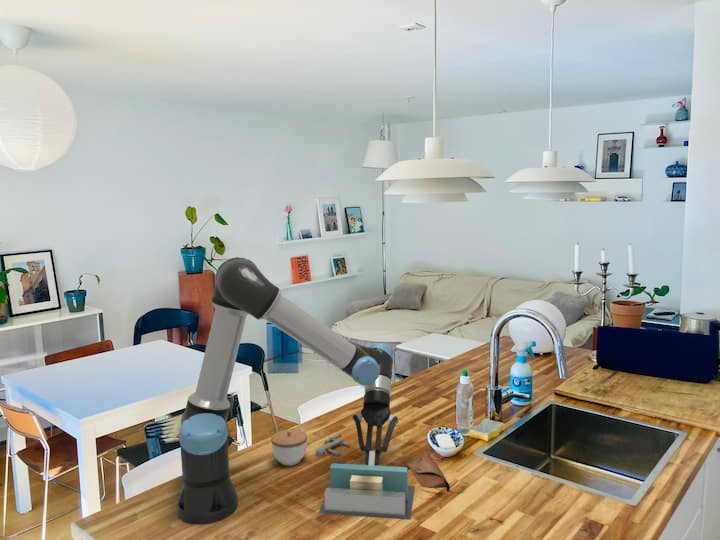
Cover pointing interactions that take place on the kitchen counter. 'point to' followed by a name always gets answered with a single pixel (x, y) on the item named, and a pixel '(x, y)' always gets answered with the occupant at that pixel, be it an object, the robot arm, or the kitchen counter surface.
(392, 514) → the vise base
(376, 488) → the block
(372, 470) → the slide jaw
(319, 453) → the clamp
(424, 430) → the kitchen counter surface
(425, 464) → the sunglasses case
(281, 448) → the lidded jar
